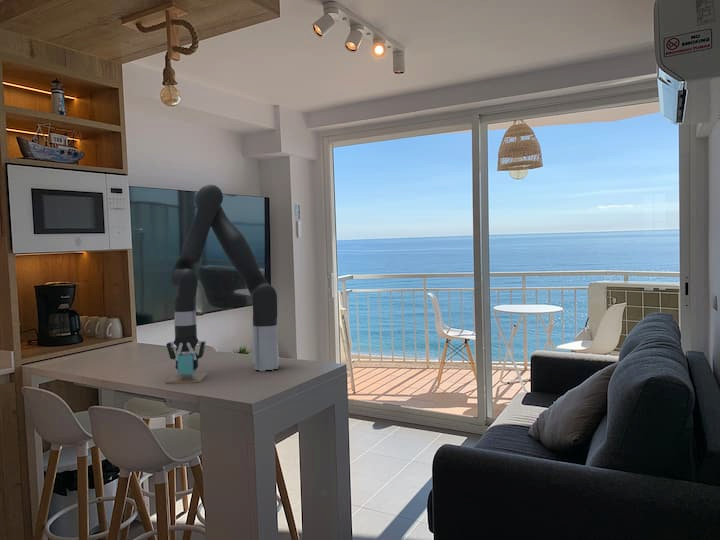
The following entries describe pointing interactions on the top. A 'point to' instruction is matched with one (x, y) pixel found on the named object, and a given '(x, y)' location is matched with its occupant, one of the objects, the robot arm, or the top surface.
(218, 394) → the top surface
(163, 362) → the top surface
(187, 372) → the turquoise rectangular block
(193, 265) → the robot arm
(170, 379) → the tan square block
